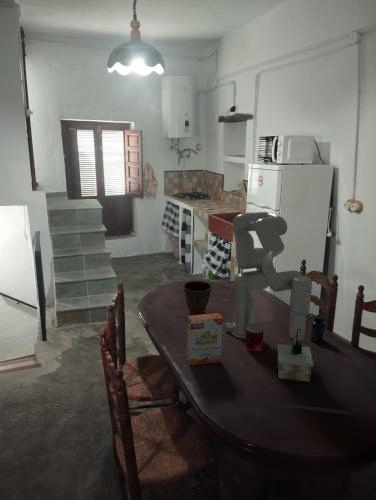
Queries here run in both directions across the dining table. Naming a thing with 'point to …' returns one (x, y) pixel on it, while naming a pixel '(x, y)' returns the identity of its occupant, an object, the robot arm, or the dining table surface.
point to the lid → (294, 355)
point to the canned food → (254, 337)
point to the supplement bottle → (318, 329)
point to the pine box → (294, 371)
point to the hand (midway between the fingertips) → (295, 347)
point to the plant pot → (197, 296)
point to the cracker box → (204, 339)
